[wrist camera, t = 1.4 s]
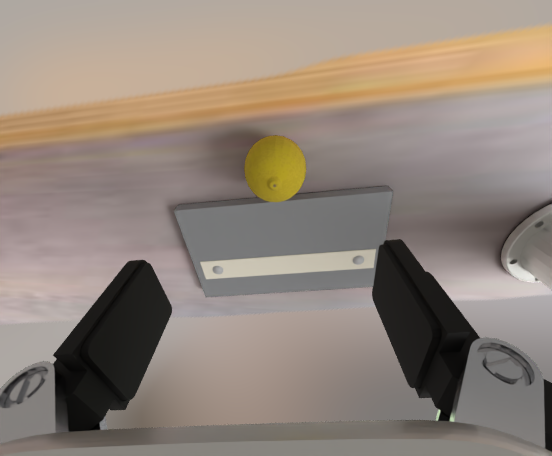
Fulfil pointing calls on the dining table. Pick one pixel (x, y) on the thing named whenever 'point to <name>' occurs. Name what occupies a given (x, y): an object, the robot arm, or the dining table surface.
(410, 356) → the robot arm
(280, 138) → the lemon
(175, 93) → the dining table surface
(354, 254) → the strip
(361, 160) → the dining table surface
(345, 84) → the dining table surface
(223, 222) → the panel
